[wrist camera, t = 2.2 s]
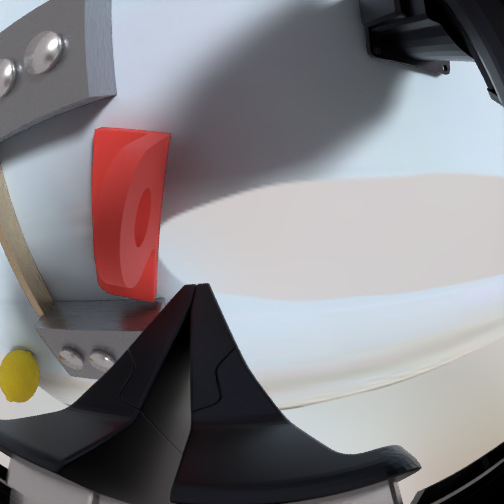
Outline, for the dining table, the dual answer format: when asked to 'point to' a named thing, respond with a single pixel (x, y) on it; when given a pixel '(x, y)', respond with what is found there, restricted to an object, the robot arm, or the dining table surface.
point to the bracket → (128, 209)
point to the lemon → (19, 376)
